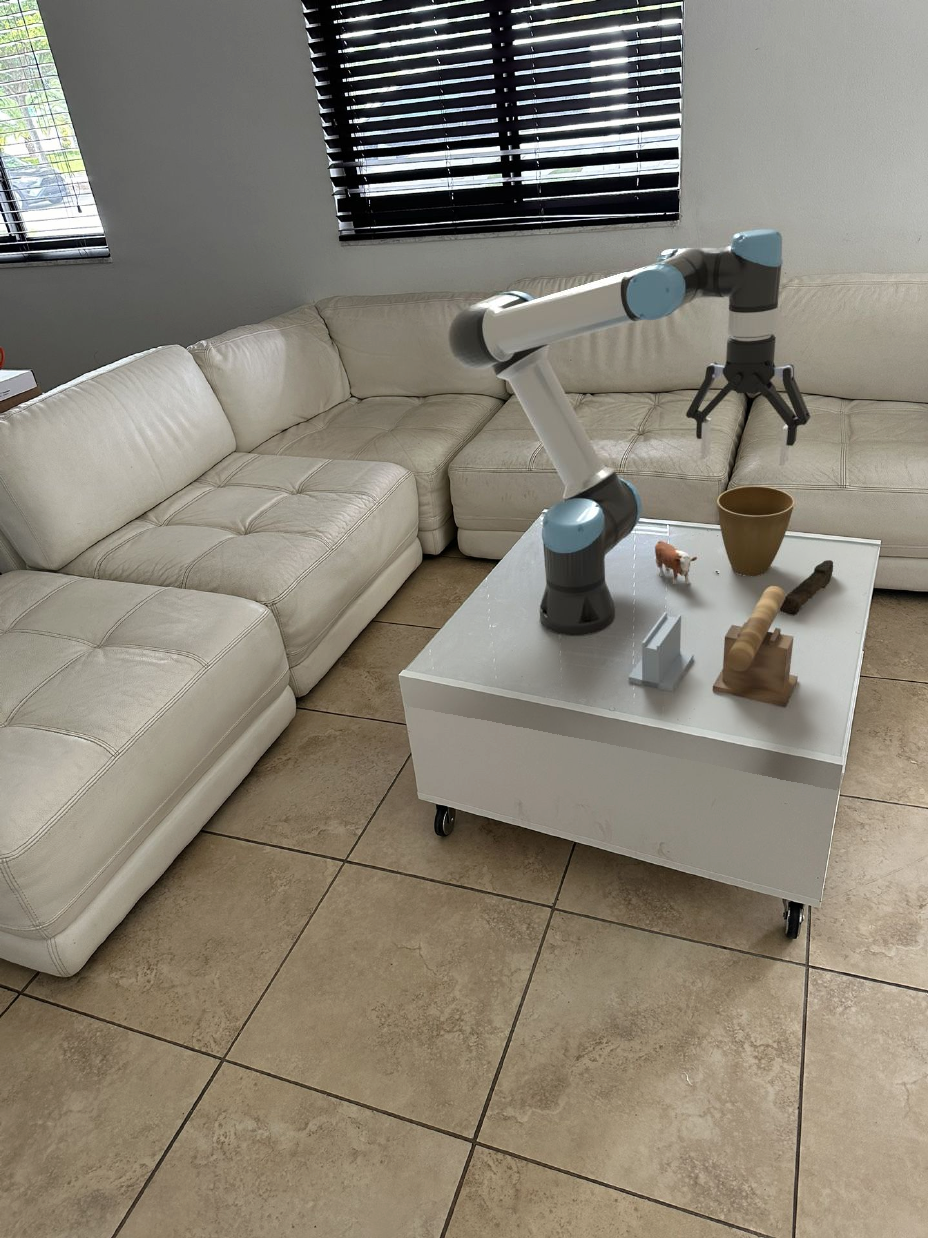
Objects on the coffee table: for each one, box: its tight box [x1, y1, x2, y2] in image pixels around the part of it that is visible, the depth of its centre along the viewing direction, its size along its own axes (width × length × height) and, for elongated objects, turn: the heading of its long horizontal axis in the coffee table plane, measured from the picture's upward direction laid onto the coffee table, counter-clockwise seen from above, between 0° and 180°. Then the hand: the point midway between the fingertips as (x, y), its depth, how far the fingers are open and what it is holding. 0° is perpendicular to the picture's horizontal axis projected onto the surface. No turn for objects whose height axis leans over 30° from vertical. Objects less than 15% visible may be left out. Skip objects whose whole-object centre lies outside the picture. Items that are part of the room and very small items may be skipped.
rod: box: [726, 585, 787, 671], centre depth 133 cm, size 22×4×4 cm, turn 148°
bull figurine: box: [654, 540, 698, 586], centre depth 171 cm, size 4×13×8 cm, turn 16°
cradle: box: [628, 611, 695, 693], centre depth 143 cm, size 8×11×9 cm
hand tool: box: [779, 559, 834, 616], centre depth 160 cm, size 19×4×5 cm, turn 132°
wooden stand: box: [712, 621, 798, 708], centre depth 136 cm, size 12×8×11 cm, turn 58°
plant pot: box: [716, 485, 795, 577], centre depth 169 cm, size 15×15×16 cm
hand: (743, 459), depth 143 cm, fingers open, 13 cm apart
